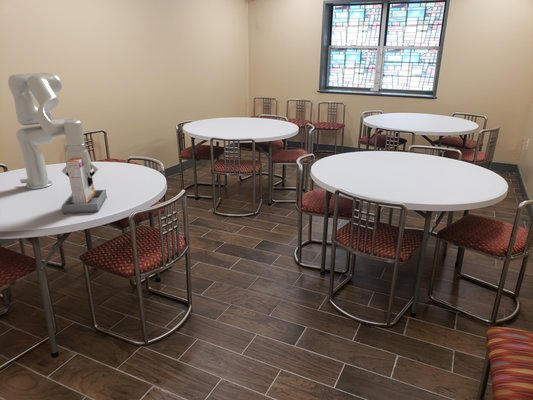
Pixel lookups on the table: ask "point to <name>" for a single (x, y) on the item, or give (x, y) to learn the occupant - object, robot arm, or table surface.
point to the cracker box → (79, 181)
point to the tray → (91, 206)
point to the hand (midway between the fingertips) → (82, 185)
